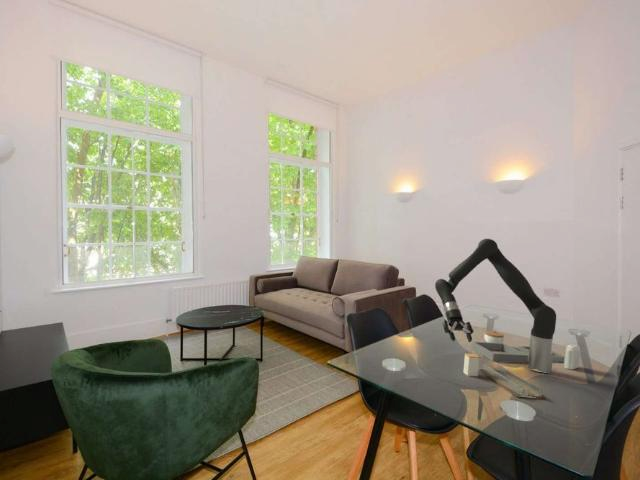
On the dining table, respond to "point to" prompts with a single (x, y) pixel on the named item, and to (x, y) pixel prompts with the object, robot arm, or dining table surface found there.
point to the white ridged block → (572, 357)
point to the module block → (471, 364)
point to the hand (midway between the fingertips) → (462, 340)
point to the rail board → (511, 381)
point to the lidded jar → (493, 337)
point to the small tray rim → (556, 356)
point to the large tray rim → (510, 357)
